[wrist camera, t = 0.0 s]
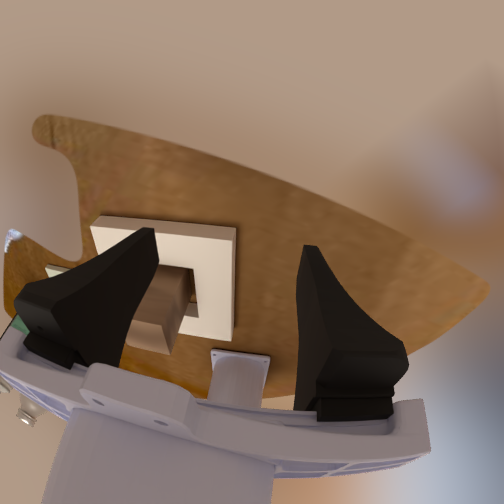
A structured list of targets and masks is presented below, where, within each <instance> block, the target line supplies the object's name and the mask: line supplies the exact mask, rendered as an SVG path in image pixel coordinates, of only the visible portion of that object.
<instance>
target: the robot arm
mask: <svg viewBox="0 0 504 504" xmlns="http://www.w3.org/2000/svg"><path fill="white" fill-rule="evenodd" d="M159 261H160V260H159V255H158V249H157V243H156V237H155V230H154V228H148V227H142V228H141V229H139V230H137V231H135V232H134V233H132V234H131V235H129V236H128V237H126V238H125V239H123V240H122V241H120V242H118V243H117V244H115V245H114V246H112V247H111V248H109V249H108V250H106V251H104V252H103V253H101V254H99V255H98V256H96V257H94V258H93V259H91V260H89V261H87V262H85V263H83V264H81V265H79V266H77V267H75V268H73V269H70V270H68V271H66V272H63V273H61V274H58V275H55V276H53V277H50V278H47V279H43V280H39V281H36V282H32V283H27V284H26V285H25V286H24V288H23V289H22V290H21V292H20V293H19V294H18V296H17V297H16V298H15V300H14V307H15V309H16V312H17V313H18V315H19V317H20V318H21V320H22V321H23V323H24V324H25V326H26V327H27V328H28V330H29V331H30V332H29V333H28V335H27V336H26V335H25V334H24V333H23V332H21V331H19V330H17V329H15V328H14V327H12V326H10V327H9V328H8V330H7V331H6V333H5V334H4V336H3V338H2V339H1V341H0V375H1V376H2V377H3V378H4V379H5V380H6V381H7V382H8V383H9V384H10V385H11V386H12V387H13V388H14V389H16V390H17V391H19V392H20V393H22V394H23V395H25V396H26V397H28V398H29V399H31V400H32V401H34V402H35V403H37V404H39V405H40V406H42V407H43V408H45V409H47V410H48V411H50V412H51V413H53V414H55V415H57V416H58V417H60V418H62V419H63V420H65V421H67V422H68V423H67V426H66V428H65V431H64V433H63V436H62V439H61V441H60V444H59V447H58V450H57V453H56V456H55V459H54V462H53V465H52V468H51V471H50V474H49V477H48V481H47V484H46V488H45V491H44V495H43V499H42V502H41V504H271V496H272V487H273V478H281V479H288V478H289V479H291V478H292V479H293V478H319V477H332V476H343V475H351V474H359V473H366V472H373V471H379V470H386V469H391V468H397V467H400V466H403V465H405V464H407V463H409V462H412V461H414V460H416V459H418V458H421V457H422V456H425V455H427V454H429V453H430V452H431V447H430V440H429V432H428V426H427V419H426V414H425V408H424V402H423V399H413V400H403V401H398V402H395V403H392V397H393V396H394V394H395V392H394V385H395V384H396V383H397V382H398V381H399V380H400V379H401V378H402V377H403V375H404V374H405V373H406V371H407V370H408V367H409V362H408V358H407V353H406V350H405V347H404V344H403V342H402V341H401V340H399V339H398V338H396V337H395V336H393V335H392V334H390V333H389V332H388V331H386V330H385V329H384V328H382V327H381V326H380V325H379V324H377V323H376V322H375V321H374V320H373V319H372V318H370V317H369V316H368V315H367V314H366V313H365V312H364V311H363V310H362V309H361V308H360V307H359V306H358V305H357V304H356V303H355V302H354V300H353V299H352V298H351V297H350V296H349V295H348V293H347V292H346V291H345V290H344V288H343V287H342V286H341V284H340V283H339V281H338V280H337V278H336V277H335V275H334V274H333V272H332V271H331V269H330V268H329V266H328V264H327V263H326V261H325V259H324V257H323V256H322V254H321V252H320V250H319V248H318V247H317V246H312V245H304V246H303V251H302V256H301V261H300V266H299V270H298V275H297V285H296V303H297V317H298V331H299V351H298V367H297V380H296V390H295V400H294V408H293V410H279V409H267V408H261V402H262V393H263V387H264V385H265V381H266V377H267V372H268V368H269V363H270V357H269V356H263V355H255V354H247V353H239V352H232V351H225V350H218V349H212V350H211V359H212V368H213V375H212V379H211V384H210V388H209V393H208V397H207V400H203V399H198V398H194V397H193V396H192V394H191V393H190V392H189V391H187V390H185V389H184V388H182V387H180V386H178V385H175V384H172V383H169V382H166V381H163V380H159V379H155V378H151V377H148V376H144V375H140V374H136V373H133V372H129V371H126V370H123V369H119V368H118V367H119V363H120V359H121V354H122V350H123V347H124V343H125V340H126V337H127V334H128V331H129V328H130V325H131V322H132V319H133V317H134V315H135V312H136V310H137V308H138V306H139V304H140V302H141V301H142V299H143V297H144V295H145V293H146V291H147V289H148V287H149V285H150V283H151V281H152V279H153V277H154V275H155V272H156V270H157V267H158V264H159Z"/></svg>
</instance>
